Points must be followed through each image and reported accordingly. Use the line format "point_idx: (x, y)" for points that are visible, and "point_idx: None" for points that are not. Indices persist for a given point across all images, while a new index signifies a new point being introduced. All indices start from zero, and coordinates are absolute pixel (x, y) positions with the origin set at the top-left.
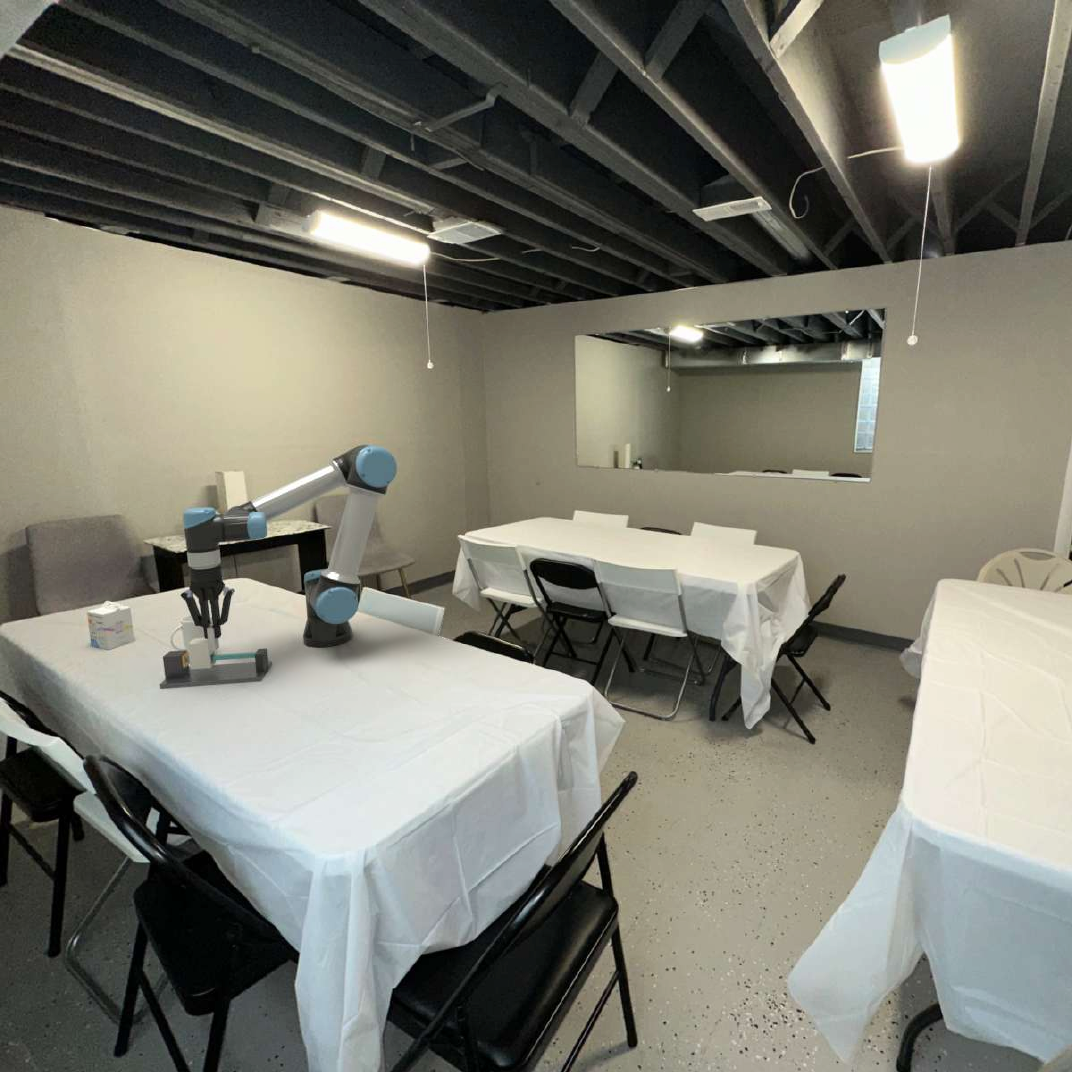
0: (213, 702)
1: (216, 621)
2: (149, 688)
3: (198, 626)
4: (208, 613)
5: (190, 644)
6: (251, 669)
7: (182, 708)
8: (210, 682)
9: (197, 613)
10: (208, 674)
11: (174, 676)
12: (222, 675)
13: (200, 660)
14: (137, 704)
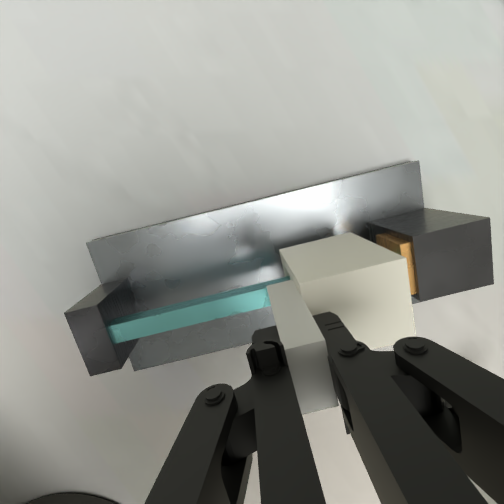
0: (154, 62)
1: (258, 396)
2: (447, 161)
3: (485, 494)
4: (379, 486)
5: (389, 260)
6: (161, 300)
7: (236, 7)
8: (252, 201)
9: (491, 452)
10: None
11: (398, 216)
12: (235, 246)
13: (320, 249)
14: (417, 33)
